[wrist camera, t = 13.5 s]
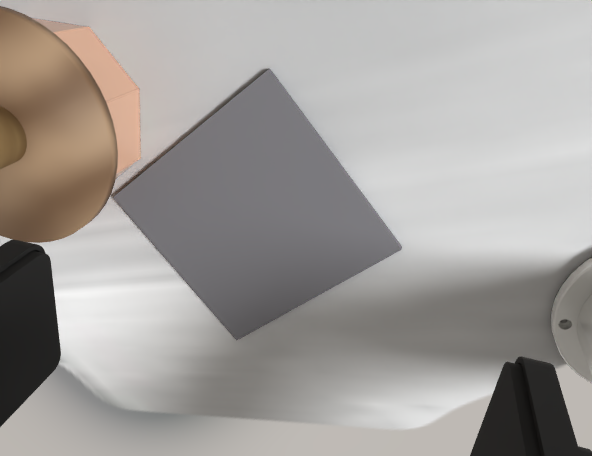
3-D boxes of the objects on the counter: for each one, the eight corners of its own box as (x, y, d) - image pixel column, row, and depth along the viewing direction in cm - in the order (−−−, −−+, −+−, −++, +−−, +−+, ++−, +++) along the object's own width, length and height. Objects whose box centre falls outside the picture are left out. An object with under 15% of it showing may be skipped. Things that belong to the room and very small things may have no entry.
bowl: (173, 130, 41) (134, 154, 35) (72, 216, 46) (25, 248, 41) (51, -20, 38) (-11, -19, 33) (-41, 90, 43) (-107, 107, 38)
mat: (401, 246, 40) (401, 249, 40) (238, 336, 48) (236, 340, 47) (269, 68, 37) (267, 69, 36) (115, 195, 44) (112, 197, 44)
